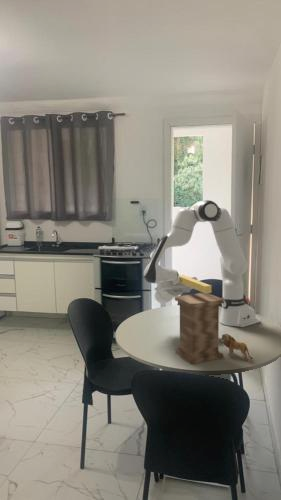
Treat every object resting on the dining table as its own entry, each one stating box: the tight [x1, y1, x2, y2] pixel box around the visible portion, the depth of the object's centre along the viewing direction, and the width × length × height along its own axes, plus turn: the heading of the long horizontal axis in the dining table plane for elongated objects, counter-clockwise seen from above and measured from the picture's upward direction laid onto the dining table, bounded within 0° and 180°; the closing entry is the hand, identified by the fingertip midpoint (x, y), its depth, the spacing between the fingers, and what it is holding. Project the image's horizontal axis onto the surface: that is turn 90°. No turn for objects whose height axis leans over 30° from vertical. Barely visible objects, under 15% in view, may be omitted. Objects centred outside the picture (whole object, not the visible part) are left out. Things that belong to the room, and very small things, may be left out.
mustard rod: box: [178, 274, 213, 294], centre depth 173 cm, size 3×24×3 cm, turn 23°
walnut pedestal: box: [174, 292, 224, 365], centre depth 172 cm, size 16×14×26 cm
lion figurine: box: [220, 333, 254, 361], centre depth 171 cm, size 15×5×9 cm, turn 53°
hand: (184, 279), depth 181 cm, fingers closed on mustard rod, 3 cm apart
